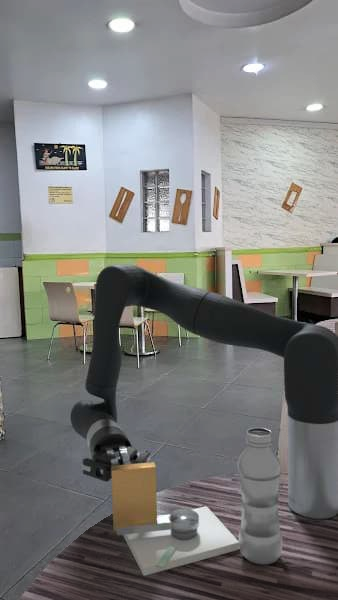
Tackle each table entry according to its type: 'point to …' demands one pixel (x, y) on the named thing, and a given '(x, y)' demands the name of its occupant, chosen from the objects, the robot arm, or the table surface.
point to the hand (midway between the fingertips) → (128, 484)
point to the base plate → (181, 544)
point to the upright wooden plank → (143, 503)
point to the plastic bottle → (259, 499)
